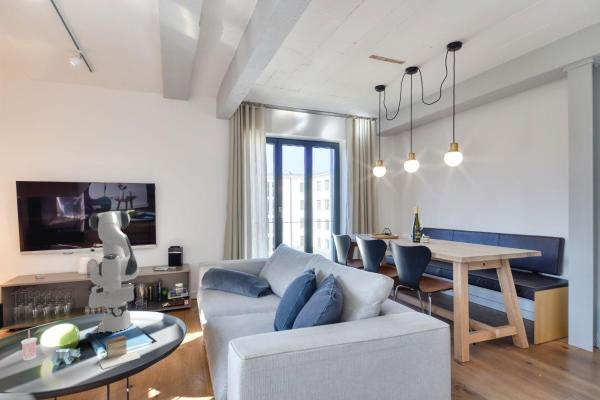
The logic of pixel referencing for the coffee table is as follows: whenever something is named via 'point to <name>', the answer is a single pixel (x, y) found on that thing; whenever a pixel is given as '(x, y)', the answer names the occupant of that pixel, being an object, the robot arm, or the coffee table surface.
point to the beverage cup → (29, 347)
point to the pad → (119, 360)
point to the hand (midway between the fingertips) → (112, 312)
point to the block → (116, 347)
